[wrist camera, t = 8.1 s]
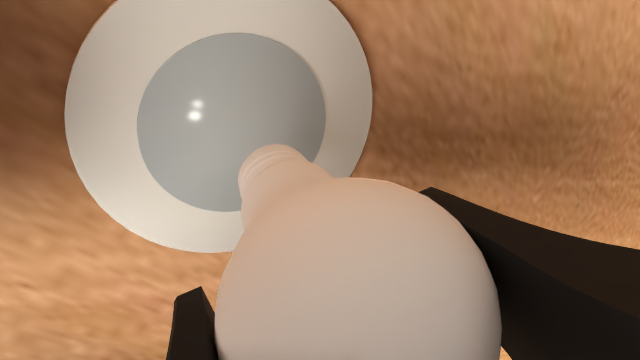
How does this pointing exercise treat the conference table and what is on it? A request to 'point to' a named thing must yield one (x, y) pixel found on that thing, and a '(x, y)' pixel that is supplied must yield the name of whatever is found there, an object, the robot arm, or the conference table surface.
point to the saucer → (209, 107)
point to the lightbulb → (349, 271)
